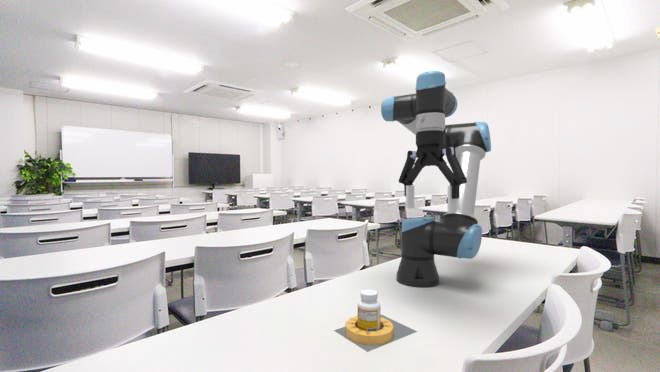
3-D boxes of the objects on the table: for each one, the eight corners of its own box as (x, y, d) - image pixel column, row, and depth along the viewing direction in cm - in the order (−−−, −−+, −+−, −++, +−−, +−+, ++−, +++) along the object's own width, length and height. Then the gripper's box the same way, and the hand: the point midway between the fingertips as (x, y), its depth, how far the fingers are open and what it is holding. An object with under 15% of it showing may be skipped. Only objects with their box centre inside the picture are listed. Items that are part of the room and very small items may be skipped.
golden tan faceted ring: (336, 330, 78) (336, 322, 78) (370, 319, 85) (370, 311, 85) (367, 350, 69) (367, 340, 69) (402, 335, 76) (402, 327, 76)
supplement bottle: (365, 325, 81) (365, 286, 81) (384, 332, 77) (384, 291, 77) (353, 333, 77) (353, 292, 76) (372, 340, 73) (372, 297, 73)
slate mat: (333, 332, 78) (333, 330, 78) (381, 316, 88) (381, 314, 88) (367, 354, 69) (367, 351, 69) (417, 333, 78) (417, 331, 78)
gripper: (386, 135, 96) (386, 207, 96) (464, 123, 75) (464, 214, 76) (404, 137, 100) (403, 206, 100) (482, 126, 80) (481, 212, 80)
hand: (429, 210), depth 88 cm, fingers open, 13 cm apart
